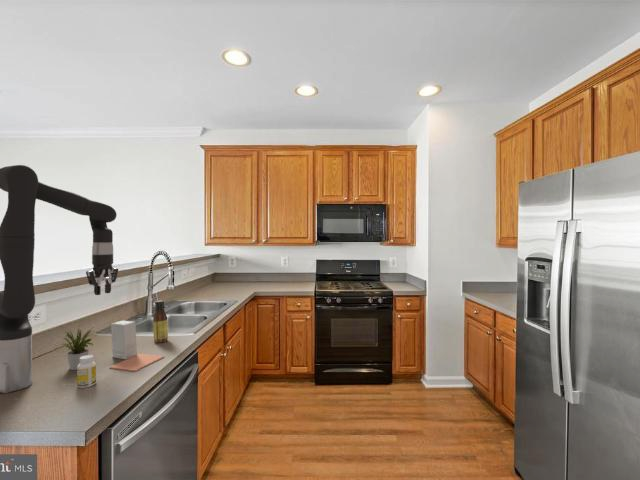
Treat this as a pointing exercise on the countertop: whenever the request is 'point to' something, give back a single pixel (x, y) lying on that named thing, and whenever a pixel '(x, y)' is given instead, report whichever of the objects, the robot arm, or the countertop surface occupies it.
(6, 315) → the robot arm
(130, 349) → the skincare box
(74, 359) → the house plant
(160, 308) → the sauce bottle
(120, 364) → the plate
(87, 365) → the supplement bottle
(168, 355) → the countertop surface
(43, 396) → the countertop surface
